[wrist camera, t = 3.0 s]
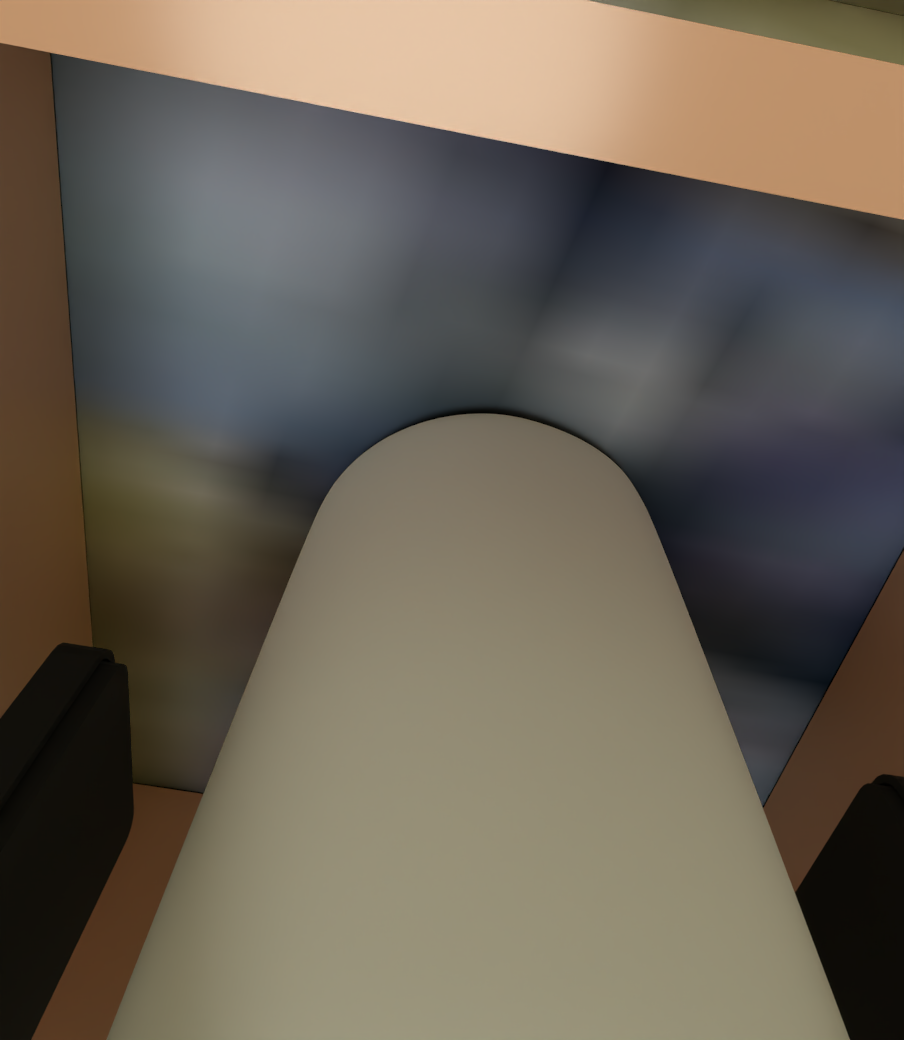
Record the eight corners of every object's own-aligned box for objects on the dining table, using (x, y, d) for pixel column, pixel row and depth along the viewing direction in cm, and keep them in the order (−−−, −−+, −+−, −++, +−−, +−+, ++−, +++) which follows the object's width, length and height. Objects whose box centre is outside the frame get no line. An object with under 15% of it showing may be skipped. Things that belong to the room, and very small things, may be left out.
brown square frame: (748, 897, 19) (870, 1277, 13) (70, 796, 18) (-138, 1153, 12) (1165, 177, 11) (2003, 293, 5) (-19, -63, 10) (-769, -280, 4)
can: (729, 517, 14) (1440, 1796, 4) (527, 737, 17) (594, 1806, 6) (419, 330, 13) (84, 1561, 2) (256, 604, 15) (-234, 1710, 5)
